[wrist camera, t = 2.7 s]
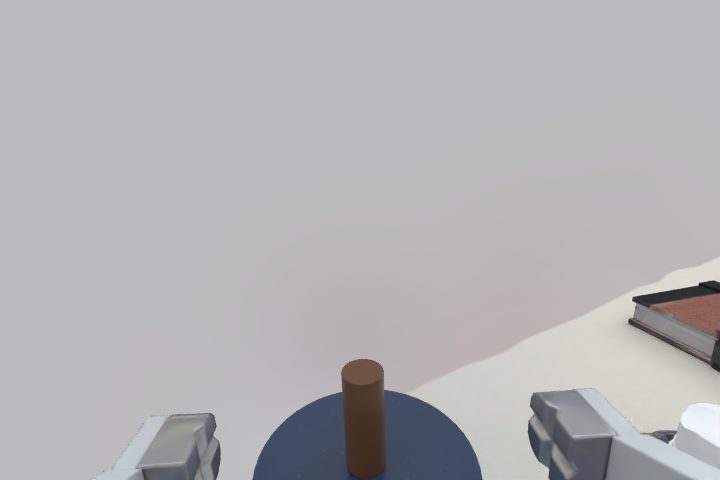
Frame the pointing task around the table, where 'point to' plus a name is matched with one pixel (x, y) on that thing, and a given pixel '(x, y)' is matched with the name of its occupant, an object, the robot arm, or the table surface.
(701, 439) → the spray bottle
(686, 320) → the book
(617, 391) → the table surface
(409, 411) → the lid
